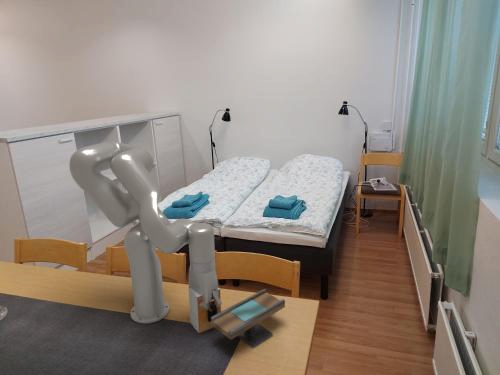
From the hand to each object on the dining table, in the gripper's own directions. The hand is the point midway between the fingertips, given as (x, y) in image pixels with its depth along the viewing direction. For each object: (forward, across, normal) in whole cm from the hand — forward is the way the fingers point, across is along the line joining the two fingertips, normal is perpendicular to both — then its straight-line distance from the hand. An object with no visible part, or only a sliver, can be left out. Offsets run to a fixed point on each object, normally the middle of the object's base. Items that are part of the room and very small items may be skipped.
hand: (205, 313), depth 115 cm
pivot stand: (+4, +12, +8) cm, 15 cm away
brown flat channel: (-2, +12, +8) cm, 15 cm away
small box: (+4, 0, 0) cm, 4 cm away
